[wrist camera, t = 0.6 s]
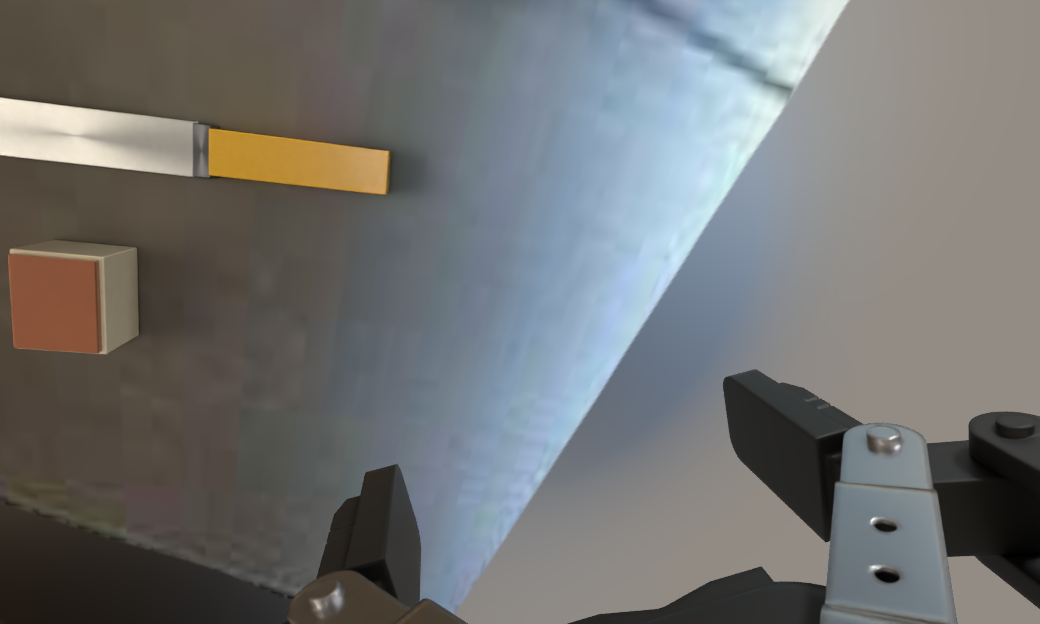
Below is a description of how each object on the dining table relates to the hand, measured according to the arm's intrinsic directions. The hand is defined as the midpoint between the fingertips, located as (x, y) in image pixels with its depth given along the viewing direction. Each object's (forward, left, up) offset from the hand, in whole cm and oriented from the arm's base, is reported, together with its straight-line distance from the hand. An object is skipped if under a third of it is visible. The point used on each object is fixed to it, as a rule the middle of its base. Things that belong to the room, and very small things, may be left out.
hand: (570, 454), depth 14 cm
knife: (-12, -16, -27) cm, 33 cm away
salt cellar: (-5, -23, -27) cm, 36 cm away
